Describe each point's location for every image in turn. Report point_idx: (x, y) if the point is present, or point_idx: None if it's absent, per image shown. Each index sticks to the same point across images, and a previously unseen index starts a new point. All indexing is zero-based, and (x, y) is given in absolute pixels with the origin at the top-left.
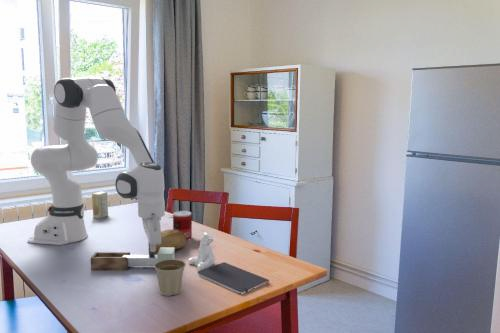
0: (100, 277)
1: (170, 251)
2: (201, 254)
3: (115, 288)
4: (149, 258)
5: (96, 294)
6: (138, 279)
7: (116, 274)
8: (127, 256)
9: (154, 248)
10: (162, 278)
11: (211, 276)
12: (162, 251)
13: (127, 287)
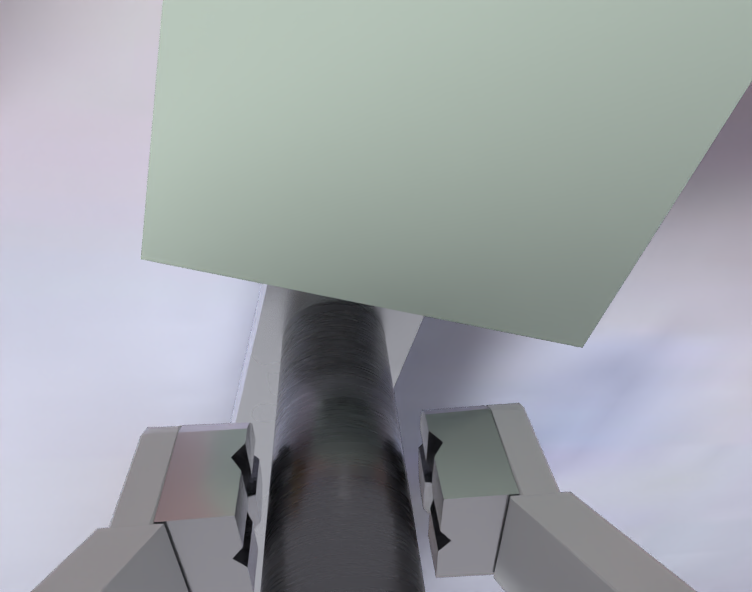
0: (434, 587)
1: (589, 14)
2: None
3: (689, 508)
4: (395, 369)
5: (705, 578)
6: (617, 379)
7: (415, 518)
8: (259, 576)
9: (541, 470)
10: None
11: None
12: (493, 239)
13: (728, 448)
